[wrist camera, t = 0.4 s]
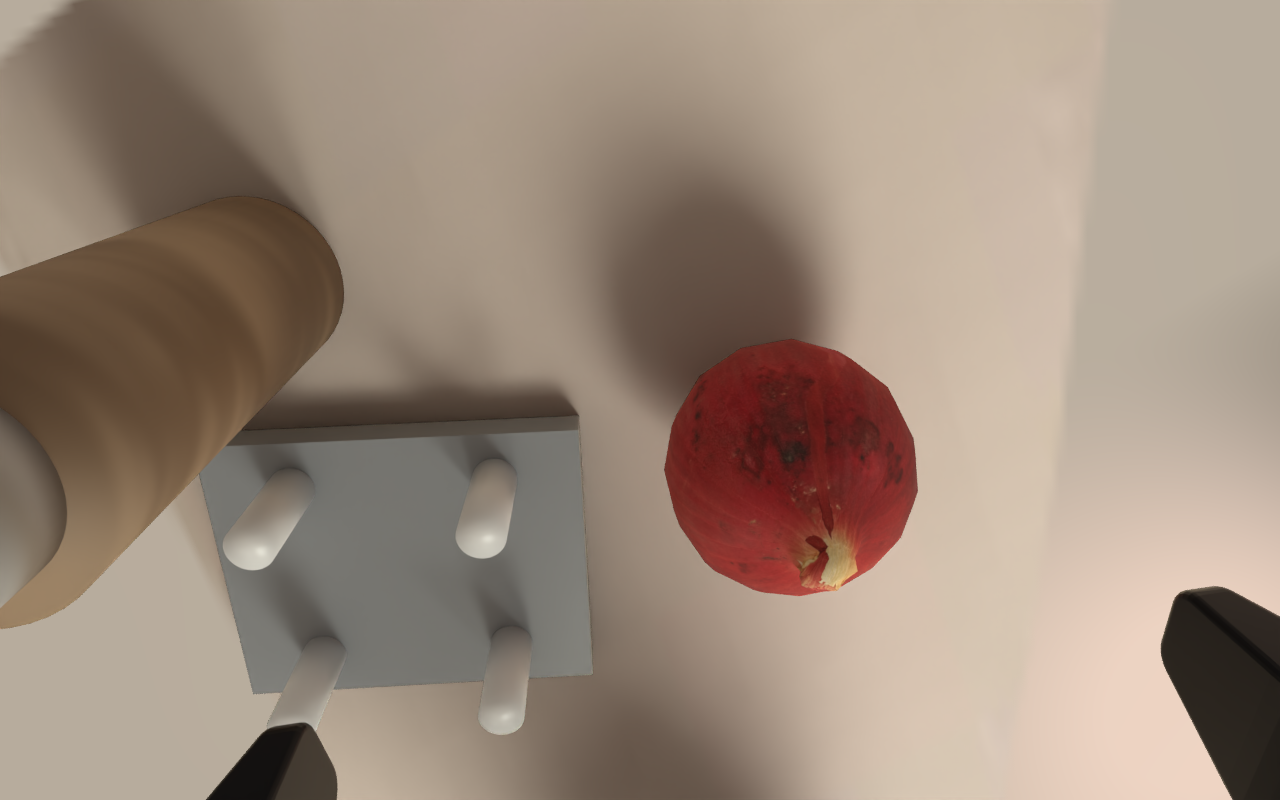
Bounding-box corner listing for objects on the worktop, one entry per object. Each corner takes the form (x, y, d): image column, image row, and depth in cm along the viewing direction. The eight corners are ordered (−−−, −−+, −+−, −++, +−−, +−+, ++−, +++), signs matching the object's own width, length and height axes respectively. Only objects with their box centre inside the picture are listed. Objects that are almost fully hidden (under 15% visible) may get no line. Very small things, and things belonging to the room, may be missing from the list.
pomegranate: (636, 330, 22) (658, 462, 15) (850, 285, 22) (978, 396, 15) (676, 517, 25) (712, 714, 17) (871, 477, 24) (992, 659, 17)
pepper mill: (355, 362, 22) (104, 679, 11) (186, 369, 22) (-253, 699, 11) (328, 193, 21) (-2, 354, 9) (145, 199, 21) (-425, 371, 9)
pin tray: (592, 653, 26) (592, 750, 22) (265, 671, 26) (210, 773, 22) (578, 415, 23) (576, 482, 19) (209, 432, 23) (134, 503, 19)
